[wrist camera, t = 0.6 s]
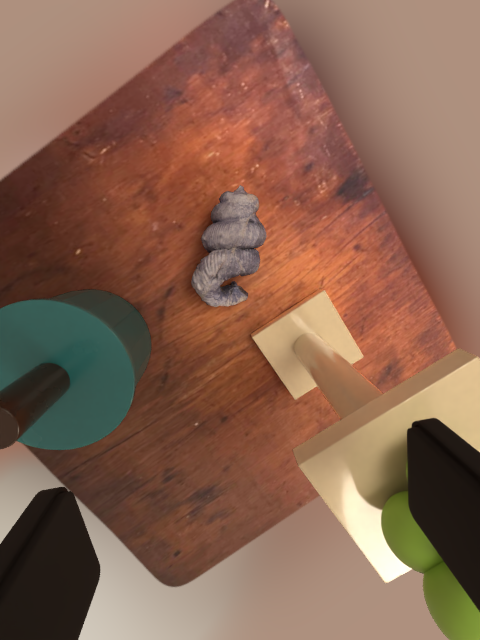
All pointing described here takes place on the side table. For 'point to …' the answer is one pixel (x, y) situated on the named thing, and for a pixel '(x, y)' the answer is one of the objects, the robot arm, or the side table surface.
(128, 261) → the side table surface
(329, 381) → the pedestal
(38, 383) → the lid
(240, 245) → the seashell
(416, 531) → the grapes
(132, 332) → the pot
